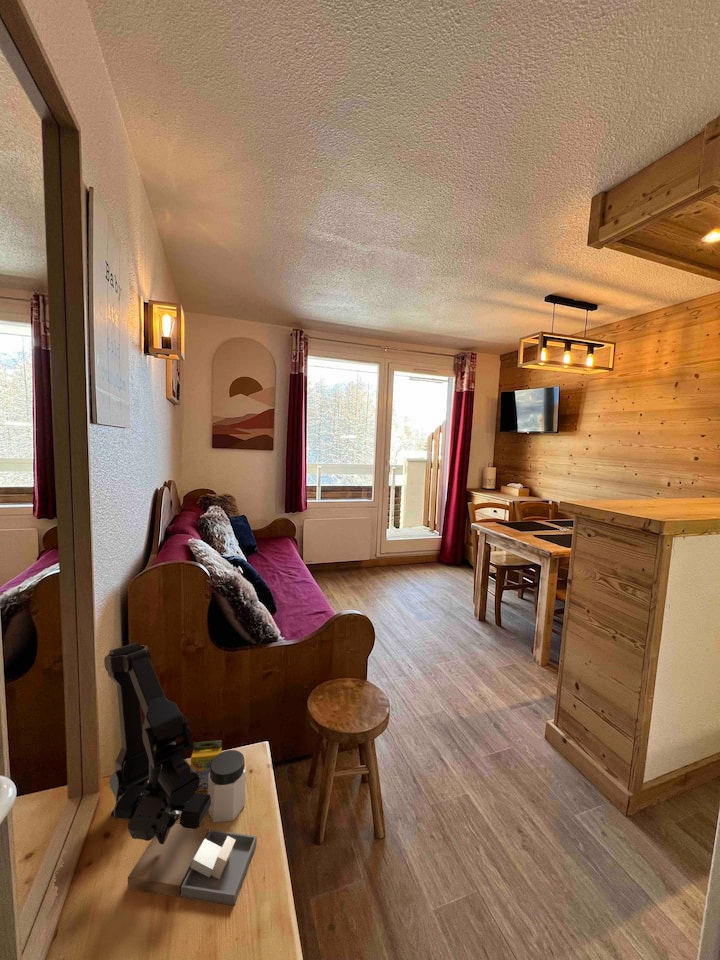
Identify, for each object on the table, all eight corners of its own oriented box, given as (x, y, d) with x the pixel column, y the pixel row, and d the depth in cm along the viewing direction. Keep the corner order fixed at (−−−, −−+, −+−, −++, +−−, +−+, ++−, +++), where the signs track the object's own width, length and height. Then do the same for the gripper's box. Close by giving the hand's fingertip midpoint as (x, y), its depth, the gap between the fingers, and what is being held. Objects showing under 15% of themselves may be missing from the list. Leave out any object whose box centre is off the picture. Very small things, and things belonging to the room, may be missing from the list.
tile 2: (217, 856, 80) (226, 861, 80) (227, 835, 84) (235, 839, 84) (210, 874, 80) (219, 879, 80) (221, 853, 85) (229, 857, 85)
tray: (180, 897, 77) (181, 886, 77) (210, 838, 89) (210, 829, 89) (234, 905, 76) (234, 895, 76) (256, 845, 88) (256, 836, 88)
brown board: (127, 888, 78) (127, 877, 78) (163, 831, 90) (163, 821, 90) (179, 897, 77) (179, 885, 77) (208, 838, 89) (209, 828, 89)
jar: (249, 811, 96) (250, 765, 95) (216, 830, 91) (217, 782, 90) (235, 787, 103) (236, 743, 102) (203, 803, 98) (204, 758, 97)
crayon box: (189, 793, 100) (190, 750, 100) (192, 784, 103) (193, 742, 103) (219, 789, 102) (220, 747, 101) (221, 780, 105) (221, 739, 104)
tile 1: (190, 867, 80) (193, 859, 80) (201, 846, 85) (204, 838, 85) (209, 877, 80) (212, 869, 80) (220, 855, 84) (223, 847, 84)
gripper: (93, 800, 75) (93, 875, 76) (185, 813, 74) (183, 890, 75) (132, 757, 86) (132, 823, 87) (212, 767, 85) (211, 834, 86)
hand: (162, 842), depth 83 cm, fingers closed
